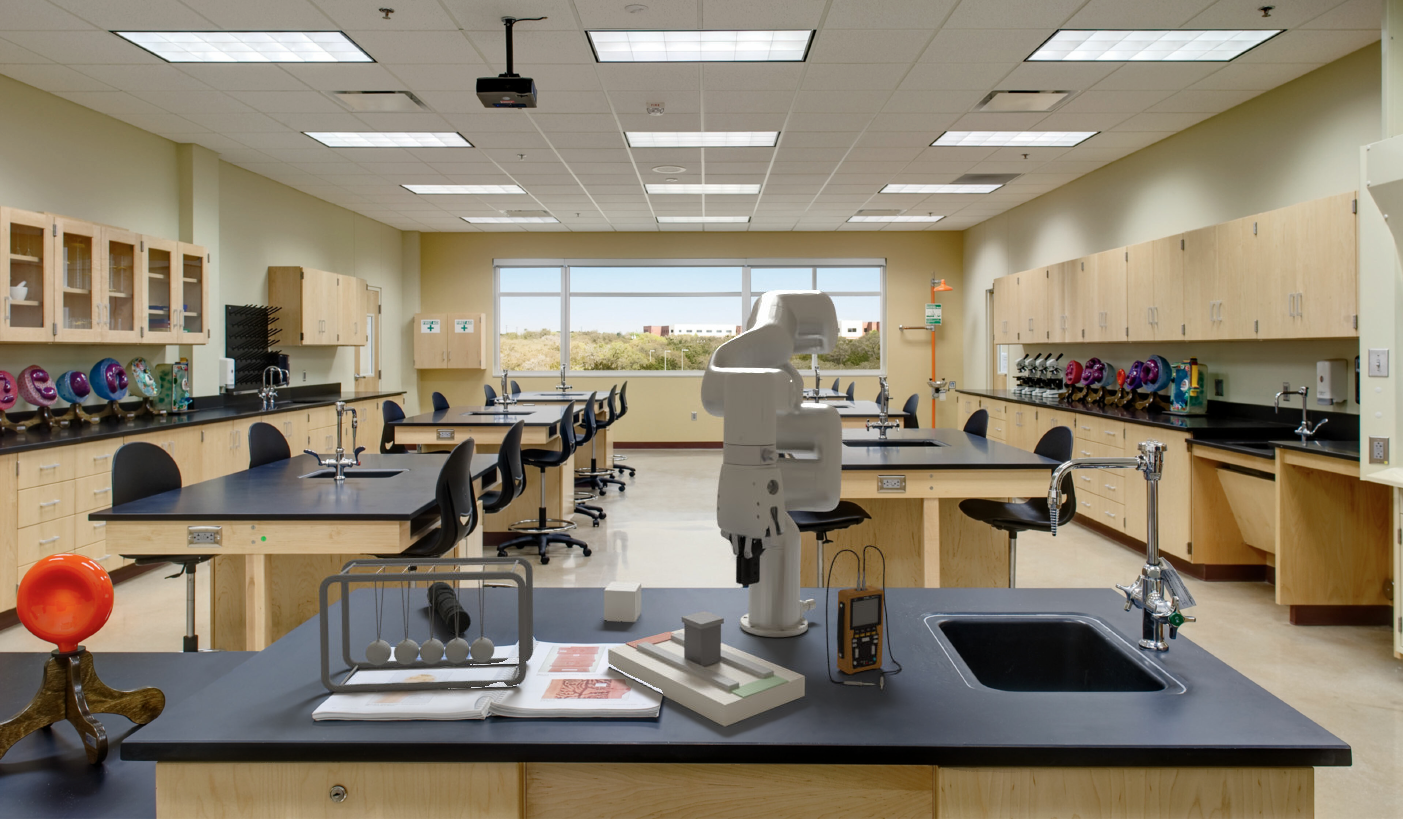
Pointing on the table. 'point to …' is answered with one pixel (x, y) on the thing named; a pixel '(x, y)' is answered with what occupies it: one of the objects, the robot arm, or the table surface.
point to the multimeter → (859, 626)
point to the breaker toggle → (702, 638)
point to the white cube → (622, 601)
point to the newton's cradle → (431, 648)
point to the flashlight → (448, 607)
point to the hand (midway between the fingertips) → (747, 582)
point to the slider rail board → (709, 678)
